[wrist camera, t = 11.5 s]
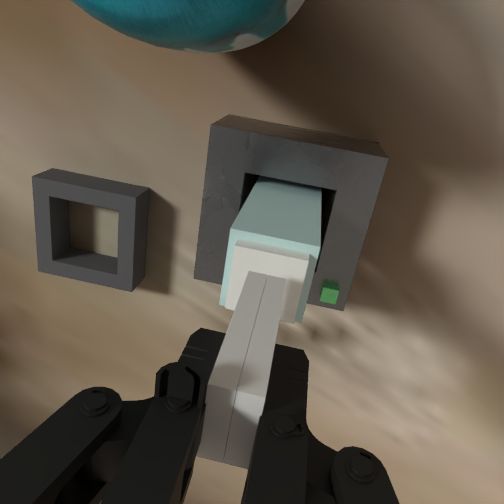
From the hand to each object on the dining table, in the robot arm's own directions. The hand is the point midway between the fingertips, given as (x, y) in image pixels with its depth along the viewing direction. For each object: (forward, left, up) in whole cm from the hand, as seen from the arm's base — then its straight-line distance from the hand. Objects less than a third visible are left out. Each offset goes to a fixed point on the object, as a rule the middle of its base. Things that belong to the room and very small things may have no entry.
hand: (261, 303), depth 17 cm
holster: (-14, -5, -14) cm, 21 cm away
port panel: (0, 0, -14) cm, 14 cm away
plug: (0, 0, -14) cm, 14 cm away
